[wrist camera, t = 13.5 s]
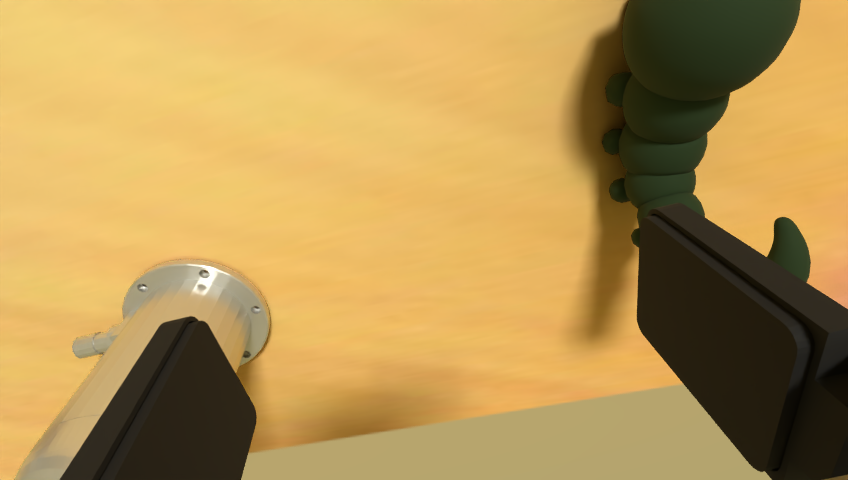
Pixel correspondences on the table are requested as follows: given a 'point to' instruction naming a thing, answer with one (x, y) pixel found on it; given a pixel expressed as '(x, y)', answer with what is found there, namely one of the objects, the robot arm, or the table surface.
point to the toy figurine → (691, 98)
